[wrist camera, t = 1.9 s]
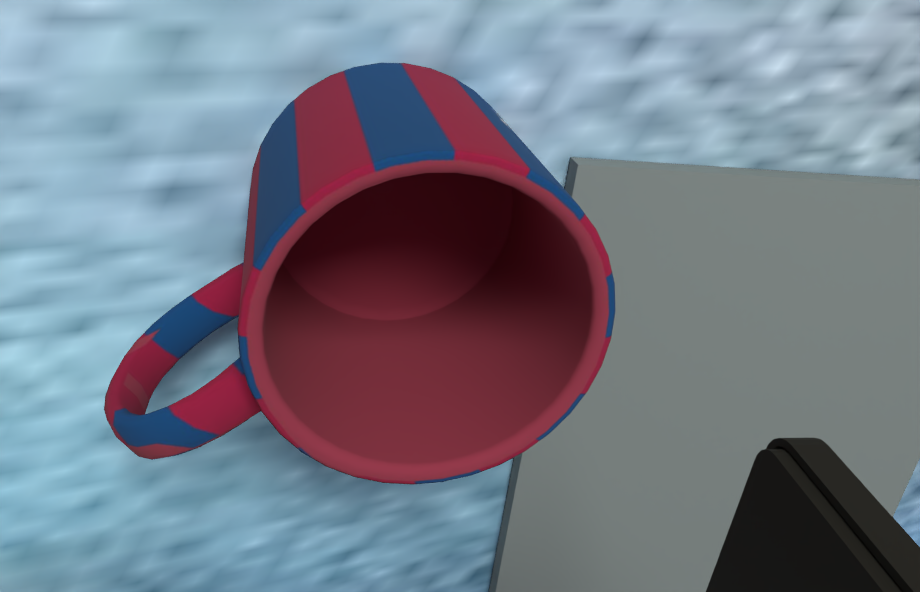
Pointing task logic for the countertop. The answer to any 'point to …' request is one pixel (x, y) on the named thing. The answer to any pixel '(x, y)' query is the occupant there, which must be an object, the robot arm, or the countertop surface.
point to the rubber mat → (720, 367)
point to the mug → (389, 291)
